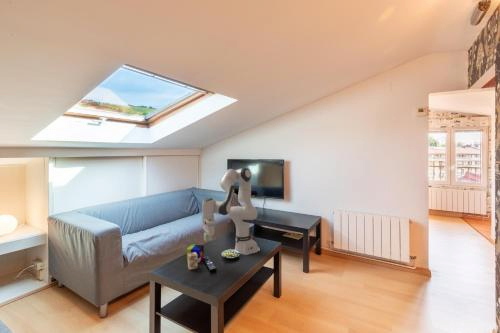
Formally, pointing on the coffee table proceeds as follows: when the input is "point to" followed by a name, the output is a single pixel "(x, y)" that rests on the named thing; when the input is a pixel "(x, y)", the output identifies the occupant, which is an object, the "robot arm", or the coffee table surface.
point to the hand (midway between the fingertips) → (208, 237)
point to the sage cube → (207, 237)
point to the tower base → (192, 265)
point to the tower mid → (192, 257)
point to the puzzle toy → (198, 249)
